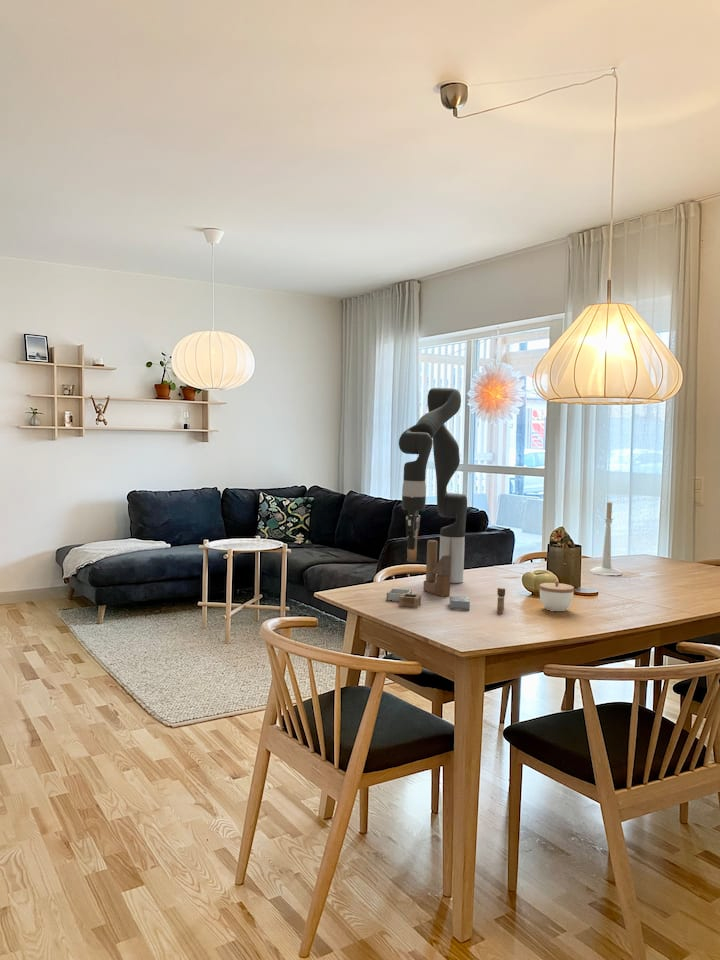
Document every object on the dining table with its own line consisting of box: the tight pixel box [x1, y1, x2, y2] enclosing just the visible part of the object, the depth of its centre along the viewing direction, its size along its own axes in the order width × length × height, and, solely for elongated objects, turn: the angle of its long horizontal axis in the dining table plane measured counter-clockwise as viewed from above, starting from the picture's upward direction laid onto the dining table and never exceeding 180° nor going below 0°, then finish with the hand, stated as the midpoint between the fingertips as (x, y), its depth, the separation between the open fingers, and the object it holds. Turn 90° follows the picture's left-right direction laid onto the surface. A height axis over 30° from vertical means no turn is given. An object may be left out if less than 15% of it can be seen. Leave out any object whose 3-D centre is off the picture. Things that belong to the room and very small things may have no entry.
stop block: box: [496, 587, 506, 615], centre depth 236 cm, size 9×2×7 cm, turn 166°
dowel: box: [406, 530, 418, 563], centre depth 239 cm, size 3×3×10 cm
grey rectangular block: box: [449, 595, 471, 611], centre depth 239 cm, size 7×6×3 cm
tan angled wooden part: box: [422, 539, 451, 597], centre depth 259 cm, size 4×11×18 cm, turn 31°
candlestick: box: [589, 501, 622, 573], centre depth 309 cm, size 13×13×30 cm
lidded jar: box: [539, 580, 575, 612], centre depth 240 cm, size 11×11×9 cm
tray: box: [385, 588, 413, 602], centre depth 249 cm, size 8×7×2 cm
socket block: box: [398, 593, 422, 608], centre depth 240 cm, size 6×6×3 cm
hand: (412, 548), depth 239 cm, fingers closed on dowel, 3 cm apart
